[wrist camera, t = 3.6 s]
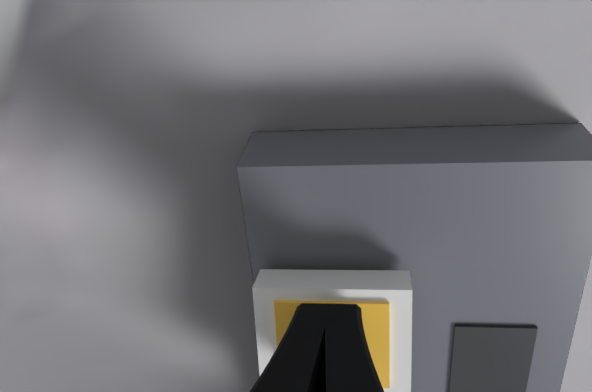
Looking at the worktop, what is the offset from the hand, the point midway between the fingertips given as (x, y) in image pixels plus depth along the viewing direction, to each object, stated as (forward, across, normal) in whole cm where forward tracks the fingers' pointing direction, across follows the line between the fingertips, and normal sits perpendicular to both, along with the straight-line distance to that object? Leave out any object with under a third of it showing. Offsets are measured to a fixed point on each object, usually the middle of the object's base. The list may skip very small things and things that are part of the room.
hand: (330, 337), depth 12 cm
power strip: (+4, -2, +7) cm, 8 cm away
